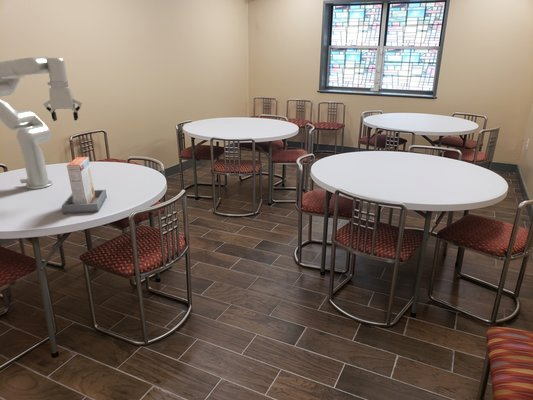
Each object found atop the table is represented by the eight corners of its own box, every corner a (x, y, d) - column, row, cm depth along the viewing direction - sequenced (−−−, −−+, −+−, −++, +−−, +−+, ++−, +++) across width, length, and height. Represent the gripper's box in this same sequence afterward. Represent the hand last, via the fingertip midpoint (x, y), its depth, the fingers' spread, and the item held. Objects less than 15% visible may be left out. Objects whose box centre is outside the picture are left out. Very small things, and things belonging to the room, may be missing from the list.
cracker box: (83, 198, 199) (76, 156, 192) (95, 197, 200) (89, 156, 192) (73, 208, 186) (65, 164, 179) (87, 208, 187) (80, 164, 179)
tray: (63, 214, 183) (61, 205, 181) (75, 198, 201) (73, 191, 200) (98, 211, 185) (97, 203, 184) (106, 197, 204) (105, 189, 202)
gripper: (37, 85, 191) (44, 122, 197) (76, 85, 194) (82, 121, 200) (42, 84, 198) (49, 119, 204) (80, 83, 201) (85, 118, 207)
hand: (65, 120), depth 202 cm, fingers open, 9 cm apart
